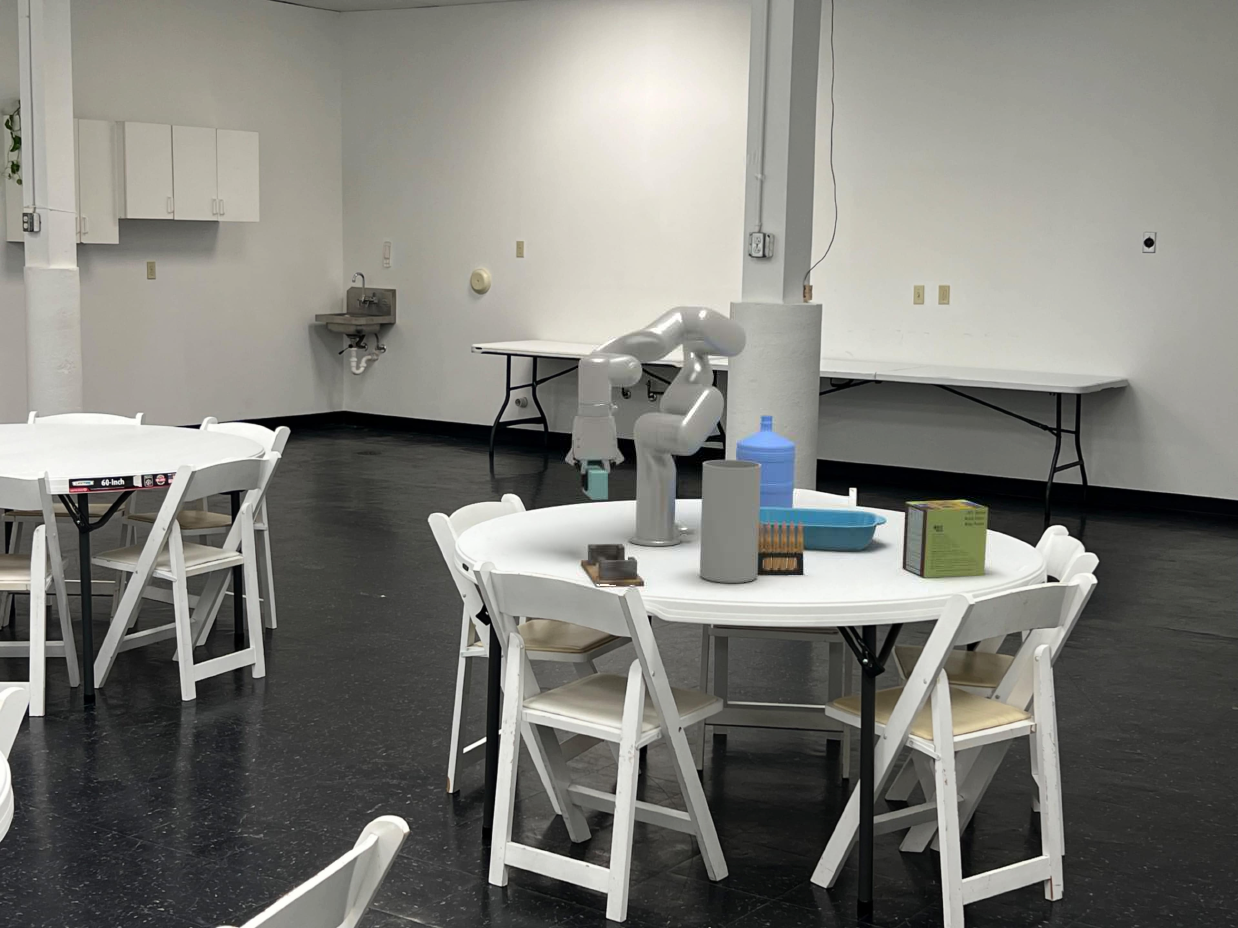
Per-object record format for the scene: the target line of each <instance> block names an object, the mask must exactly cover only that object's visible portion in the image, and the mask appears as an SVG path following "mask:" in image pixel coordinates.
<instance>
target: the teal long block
mask: <svg viewBox="0 0 1238 928" xmlns="http://www.w3.org/2000/svg"><path fill="white" fill-rule="evenodd" d="M586 471H587V474H588V491H584V489H583V488H582V492H583V493H584V494H585V495H586V496H587V497H588V498H590V499H591V500H592V501H593V500H594V501H595V500H609V486H608V473H607V472H606V471H604V470H603V467H602V468H601V467H600V466H599V465H587V468H586Z"/></svg>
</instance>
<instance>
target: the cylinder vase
mask: <svg viewBox="0 0 1238 928" xmlns="http://www.w3.org/2000/svg"><path fill="white" fill-rule="evenodd" d="M760 485H761V464H759V463H756V462H750V461H741V460H736V459H716V460H714V459H713V460H707V461H704V462H702V489H701V520H700V554H699V555H700V557H699V559H700V560H699V575H700V576H701V578H702V579H704V580H706V581H710V582H713V583H720V584H721V583H722V584H744V582H745V583H749V581H750V582H752V581H754V580H756V579H757V578H758V575H757V573H758V543H759V514H760Z"/></svg>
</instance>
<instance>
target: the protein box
mask: <svg viewBox="0 0 1238 928" xmlns="http://www.w3.org/2000/svg"><path fill="white" fill-rule="evenodd" d="M904 506H905V507H904V523H903V524H904V526H903V529H904V530H903V546H902V547H903V548H902V549H903V551H902V570H905V571H907V572H910V573H912V574H914V575H916V576H918V577H920V578H923V579H930V578H932V579H933V578H953V577H954V578H955V577H956V578H957V577H972V576H973V577H975V576H976V577H977V576H984V575H985V570H986V569H985V567H986V553H987V552H986V548H987V547H986V546H987V534H988V533H987V530H988V517H989V515H988V513H989V507H988V506H986V505H985V506H984V505H981V504H978V503H975V502H973V501H969V500H966V499H956V500H955V499H954V500H948V499H947V500H926V501H922V500H921V501H905V505H904Z"/></svg>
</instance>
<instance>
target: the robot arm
mask: <svg viewBox="0 0 1238 928" xmlns="http://www.w3.org/2000/svg"><path fill="white" fill-rule="evenodd" d="M746 343H747V337H746V332H745V330H744V328H743V327H742V325H740V324H739V323H738V322H737V321H734V320H733V319H731V318H729V317H728V316H726V315H724V314H722V313H720V312H719V311H716V310H714V309H712V308H709V307H706V306H705V307H703V306H684V305H682V306H681V305H680V306H675V307H672V308H670V309H669V310H668V311H666V312H664V314H661V316H659V317H658V318H656V319H655V320H653V321H652V322H650V323H649V324H648V325H646V326H645V327H644V328H641V329H638V330H636V331H632V332H630V333H627V334H624V335H621V336H618V337H614V338H613V339H610V340H608V341H606V342H604V343H603V344H600V345H599V346H598V347H596V348H595V349H594V350H592V351H591V352H590V353H589V355H587V356H584V357H582V358H580V360H579V362H578V407H577V408H578V413H577V414H578V415H576V416H574V419H573V424H572V425H573V427H572V437H571V448H570V450H569V452H568V453H567V454H566V457H565V459H564V460H565V462H566V463H568V464H570V465H571V466H572V467H574V468H576V469H577V470H578V471H579V473H580V487H581V488H582V490H583V489H584V491H588V474H587V471H586V468H587V466H588V461H601V463H602V469H603V470H604V471H606V472H607V473H608V487H609V485H610V483H609V481H610V478H609V477H610V473H611V471H612V470H613V469H614V468H615V467H616V466H617V465H619V464H620V463H622V462H623V461H625V457H624V455H623V454H622V452H621V451H620V449H619V448H618V438H617V436H618V435H617V427H616V421H615V417H614V415H613V414H614V413H615V412H618V409H619V408H618V405H614V404H613V403H612V387H616V388H617V387H619V388H629V387H632V386H634V385H636V384H637V383H638V382H639V381H640V379H641V377H642V375H643V367H642V364H646V363H652V362H657V361H660V360H662V359H664V358H665V357H667V356H668V355H669V354H670V353H672V352H673V351H675V350H676V349H677V348H679V347H680V346H682V354H683V365H682V368H681V369H680V371H679V372H678V374H677V375H676V377H675V378H674V379H673V381H672V382H671V384H670V385H668V388H667V389H666V390H665V392H664V393H663V395H662V396H661V399H660V402H659V409H660V411H661V412H647V413H644V414H642V415H641V416H640V417H638V418H637V419H636V421H635V422H634V423H635V424H634V426H633V441H634V446H635V452H636V454H635V455H636V497H635V498H636V499H635V500H636V502H635V503H636V506H635V510H636V511H635V533H633V534H630V535H629V537H628V539H629V540H628V541H629V542H631V543H632V544H635V545H638V546H639V545H641V546H649V547H665V546H668V547H669V546H674V545H678V544H680V543H681V542H682V539H681V538H682V537H681V536H682V535H694V533H695V528H694V526H693V525H692V526H687V525H678V523H676V497H677V496H676V489H677V488H676V487H677V468H676V463H675V462H674V458H673V456H672V455H676V456H692V455H694V454H695V453H697V451H699V450H700V448H701V447H702V446H703V444H704V443H705V442H706V440H707V439H708V437H709V436H710V434H712V432H713V430H714V429H715V427H716V426H717V425H718V422H719V421H720V419H721V418H722V415H723V413H724V404H725V403H724V402H725V401H724V396H723V393H721V391H720V389H718V388H717V387H715V386H714V385H713V383H714V372H713V369H712V366H711V364H710V360H709V357H724V358H732V357H737V356H738V355H740V354H741V353H742V352H743V351H744V349H745V346H746ZM575 459H576V460H575ZM578 461H580V462H578Z"/></svg>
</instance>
